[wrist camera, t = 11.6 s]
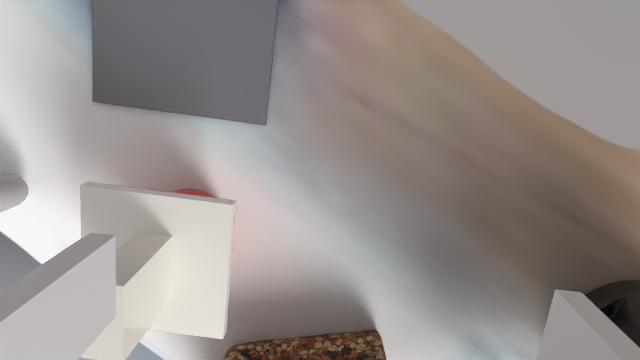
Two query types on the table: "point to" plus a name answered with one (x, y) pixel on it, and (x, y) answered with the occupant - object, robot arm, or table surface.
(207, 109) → the mat
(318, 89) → the table surface
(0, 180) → the donut
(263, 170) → the table surface
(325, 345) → the bread
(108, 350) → the lid
